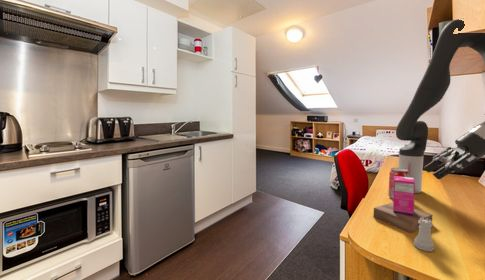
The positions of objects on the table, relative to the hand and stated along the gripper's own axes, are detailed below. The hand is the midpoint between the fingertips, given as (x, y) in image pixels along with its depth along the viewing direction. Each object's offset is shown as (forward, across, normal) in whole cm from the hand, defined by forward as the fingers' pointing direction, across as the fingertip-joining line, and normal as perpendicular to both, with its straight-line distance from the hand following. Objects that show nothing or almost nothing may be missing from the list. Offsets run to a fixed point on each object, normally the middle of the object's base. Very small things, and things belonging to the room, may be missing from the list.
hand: (430, 173), depth 72 cm
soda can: (+15, -24, +10) cm, 30 cm away
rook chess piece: (+16, +16, +9) cm, 25 cm away
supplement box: (+15, 0, +5) cm, 16 cm away
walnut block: (+18, 0, +8) cm, 19 cm away
